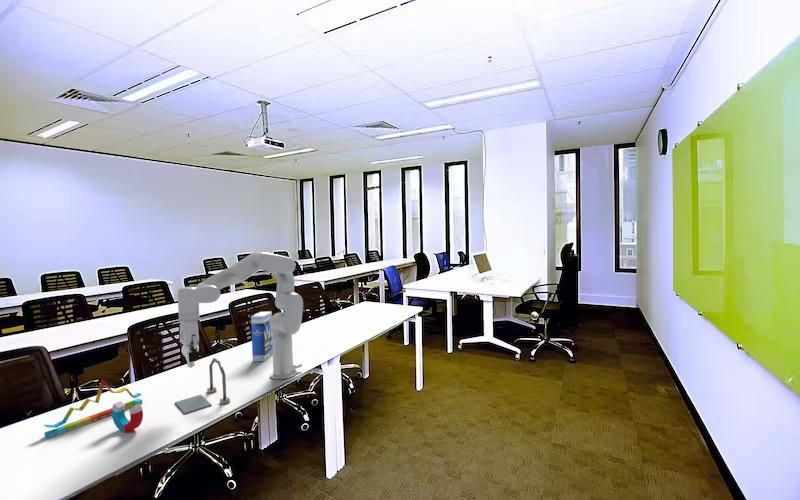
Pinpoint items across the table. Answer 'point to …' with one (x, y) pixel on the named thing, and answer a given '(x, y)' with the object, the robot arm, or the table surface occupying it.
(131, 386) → the table surface
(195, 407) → the mat
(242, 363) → the table surface
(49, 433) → the chart
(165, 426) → the table surface
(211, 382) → the wire arch
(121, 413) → the magnet
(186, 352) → the lightbulb
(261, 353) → the string lights box
